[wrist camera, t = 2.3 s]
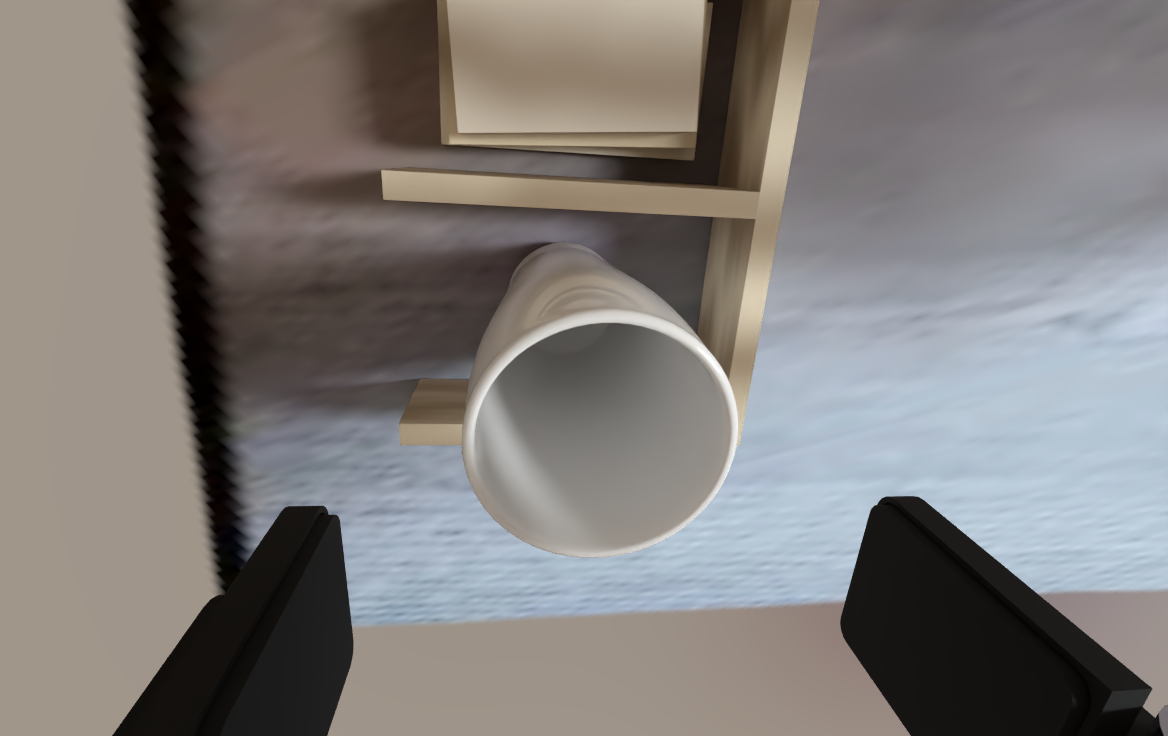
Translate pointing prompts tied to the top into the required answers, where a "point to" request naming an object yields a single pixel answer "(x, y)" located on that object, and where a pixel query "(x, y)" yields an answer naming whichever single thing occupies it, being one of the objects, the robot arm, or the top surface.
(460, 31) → the offcut top
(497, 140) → the board
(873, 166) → the top surface
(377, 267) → the top surface
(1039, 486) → the top surface
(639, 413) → the white vase
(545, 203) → the rack
